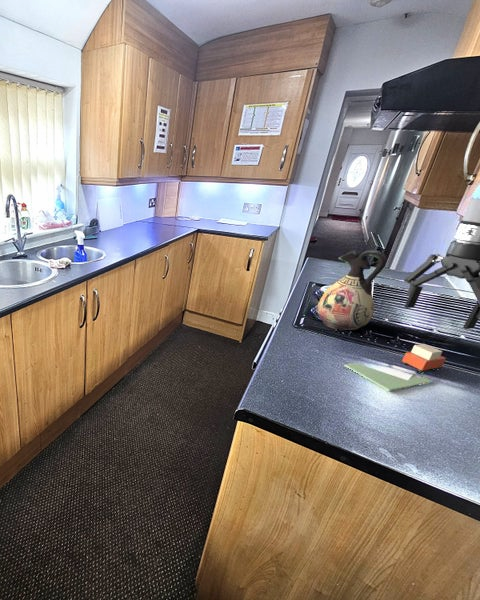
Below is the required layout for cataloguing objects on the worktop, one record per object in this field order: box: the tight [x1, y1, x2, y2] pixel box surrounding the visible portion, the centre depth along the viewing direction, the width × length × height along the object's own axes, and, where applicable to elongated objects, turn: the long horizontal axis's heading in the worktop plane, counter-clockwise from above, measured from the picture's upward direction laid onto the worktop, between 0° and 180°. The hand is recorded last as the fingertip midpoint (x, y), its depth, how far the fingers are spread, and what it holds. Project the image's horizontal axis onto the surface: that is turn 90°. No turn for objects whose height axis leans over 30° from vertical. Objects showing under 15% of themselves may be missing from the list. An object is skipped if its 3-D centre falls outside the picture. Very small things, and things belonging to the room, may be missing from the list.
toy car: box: [401, 343, 447, 374], centre depth 94 cm, size 8×5×7 cm, turn 105°
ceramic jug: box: [317, 249, 387, 331], centre depth 112 cm, size 17×15×30 cm
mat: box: [343, 362, 433, 392], centre depth 92 cm, size 16×12×1 cm
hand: (436, 317), depth 92 cm, fingers open, 13 cm apart
